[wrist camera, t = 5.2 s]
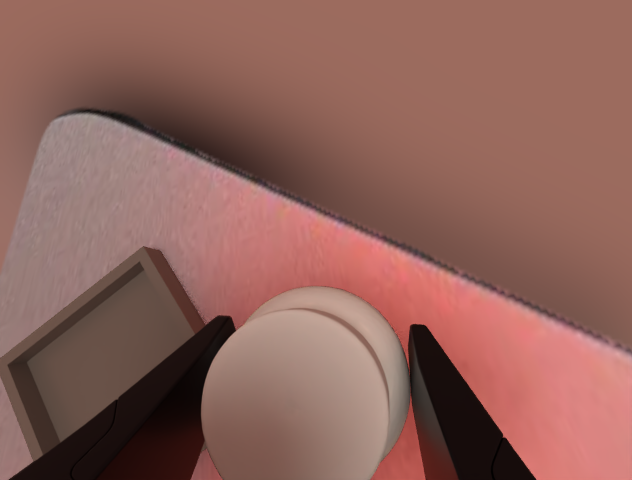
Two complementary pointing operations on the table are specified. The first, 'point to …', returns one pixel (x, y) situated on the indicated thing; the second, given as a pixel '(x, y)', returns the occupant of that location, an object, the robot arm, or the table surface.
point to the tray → (97, 349)
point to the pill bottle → (306, 390)
